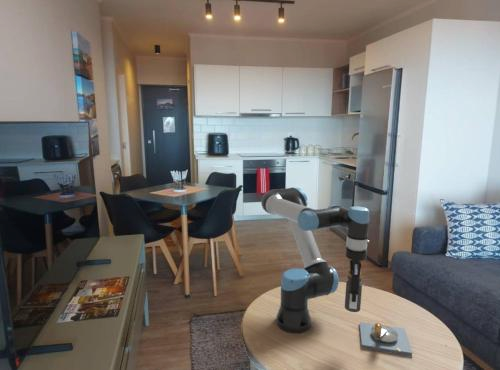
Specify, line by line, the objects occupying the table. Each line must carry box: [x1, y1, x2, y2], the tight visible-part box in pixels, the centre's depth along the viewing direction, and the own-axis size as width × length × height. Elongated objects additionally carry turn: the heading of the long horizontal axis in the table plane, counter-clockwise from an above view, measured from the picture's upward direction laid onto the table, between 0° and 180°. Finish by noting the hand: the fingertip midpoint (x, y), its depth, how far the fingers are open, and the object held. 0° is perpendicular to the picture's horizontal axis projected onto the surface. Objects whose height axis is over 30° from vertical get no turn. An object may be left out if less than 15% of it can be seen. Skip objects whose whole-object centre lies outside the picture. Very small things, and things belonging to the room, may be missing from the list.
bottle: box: [344, 269, 363, 313], centre depth 129 cm, size 6×6×15 cm
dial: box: [371, 322, 398, 344], centre depth 133 cm, size 10×12×8 cm
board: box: [359, 321, 413, 357], centre depth 135 cm, size 18×16×2 cm
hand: (352, 303), depth 130 cm, fingers closed on bottle, 6 cm apart
